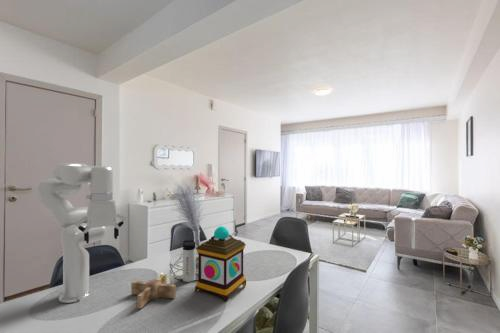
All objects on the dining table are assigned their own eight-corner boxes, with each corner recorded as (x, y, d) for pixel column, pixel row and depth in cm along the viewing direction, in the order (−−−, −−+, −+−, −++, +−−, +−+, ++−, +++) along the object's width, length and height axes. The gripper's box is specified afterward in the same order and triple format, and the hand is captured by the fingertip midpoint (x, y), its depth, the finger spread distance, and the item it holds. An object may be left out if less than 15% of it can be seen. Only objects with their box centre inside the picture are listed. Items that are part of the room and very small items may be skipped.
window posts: (159, 283, 119) (159, 273, 119) (170, 280, 123) (170, 270, 123) (162, 288, 115) (162, 277, 115) (174, 284, 118) (174, 274, 118)
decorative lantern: (216, 276, 129) (216, 219, 129) (250, 285, 120) (250, 224, 120) (190, 294, 112) (190, 228, 111) (227, 306, 102) (227, 234, 102)
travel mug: (189, 277, 129) (190, 238, 129) (198, 281, 124) (198, 241, 124) (179, 281, 124) (179, 241, 124) (187, 285, 120) (187, 244, 120)
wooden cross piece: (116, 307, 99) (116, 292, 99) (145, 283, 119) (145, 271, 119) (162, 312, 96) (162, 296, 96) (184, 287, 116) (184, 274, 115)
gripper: (75, 200, 90) (75, 247, 90) (127, 196, 100) (127, 238, 100) (75, 198, 96) (75, 241, 96) (124, 195, 106) (124, 234, 107)
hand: (101, 240), depth 98 cm, fingers open, 9 cm apart
